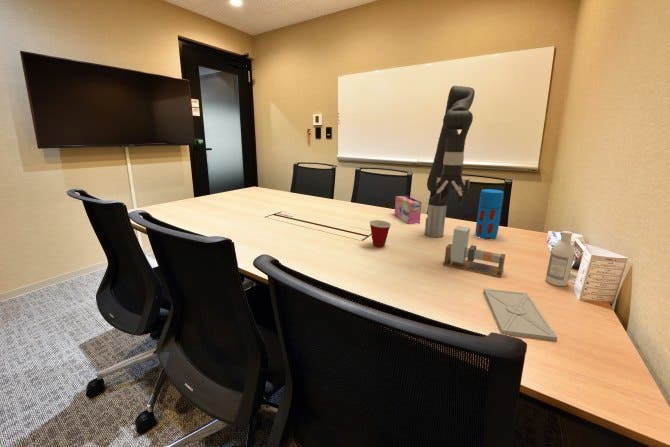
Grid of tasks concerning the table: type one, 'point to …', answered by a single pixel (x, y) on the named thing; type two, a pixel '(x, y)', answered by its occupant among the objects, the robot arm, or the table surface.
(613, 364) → the table surface
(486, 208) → the blue tall rounded block
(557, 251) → the bath foam
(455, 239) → the pale grey rectangular block
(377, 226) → the plastic cup
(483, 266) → the rail
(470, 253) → the gray brick
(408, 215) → the pink cardboard box
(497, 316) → the envelope
